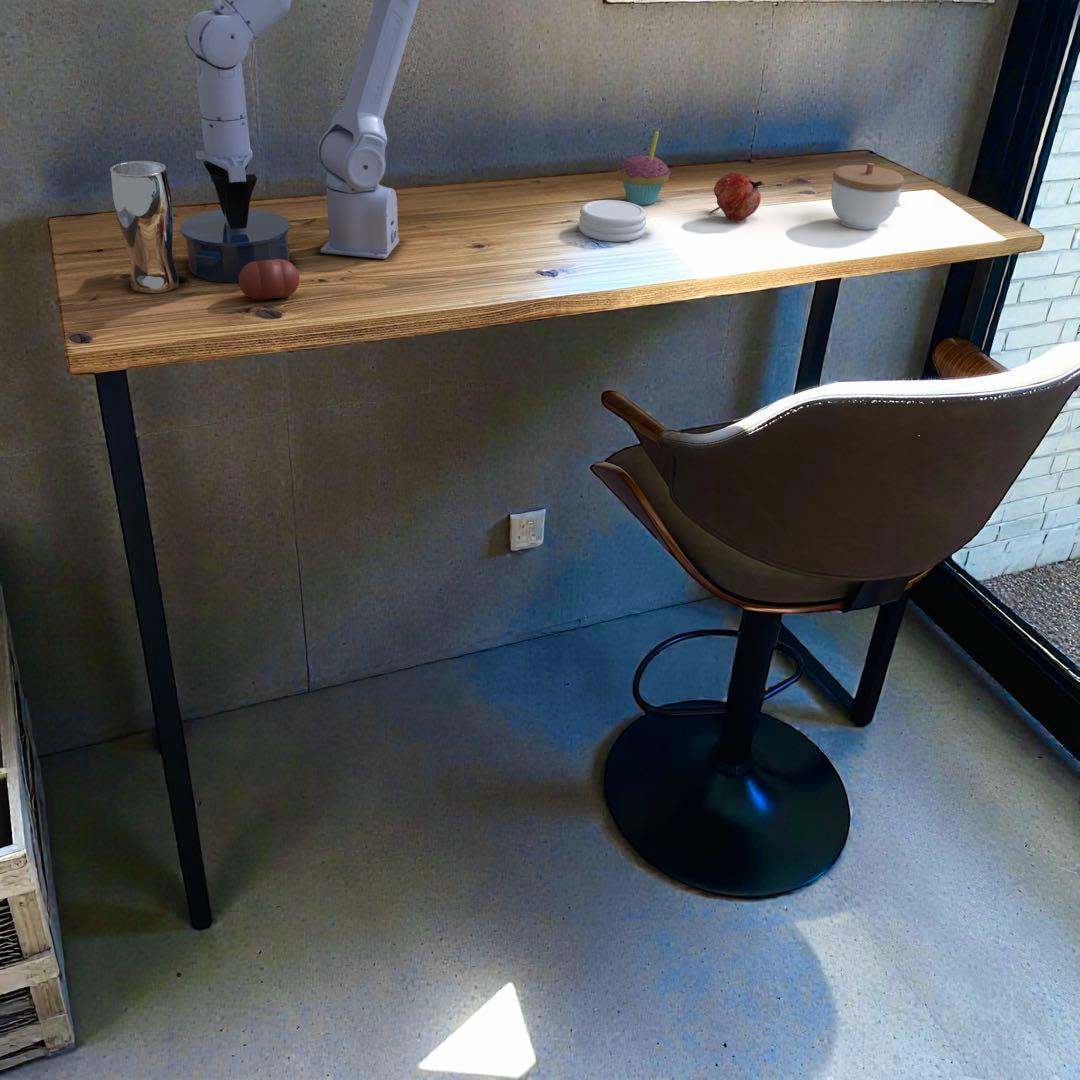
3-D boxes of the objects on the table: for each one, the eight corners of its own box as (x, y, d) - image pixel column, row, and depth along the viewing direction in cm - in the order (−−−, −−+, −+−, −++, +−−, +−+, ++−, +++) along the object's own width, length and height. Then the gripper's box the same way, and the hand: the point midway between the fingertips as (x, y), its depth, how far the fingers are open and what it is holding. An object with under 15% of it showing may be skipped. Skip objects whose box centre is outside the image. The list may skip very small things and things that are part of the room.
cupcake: (675, 199, 191) (683, 124, 185) (651, 212, 185) (659, 134, 179) (630, 189, 195) (636, 115, 189) (604, 201, 189) (610, 125, 182)
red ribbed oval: (296, 288, 152) (293, 252, 150) (304, 301, 148) (301, 265, 146) (237, 293, 150) (233, 257, 147) (243, 307, 146) (239, 270, 143)
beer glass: (133, 275, 154) (115, 159, 145) (187, 275, 154) (172, 160, 146) (122, 294, 148) (102, 175, 140) (178, 295, 148) (162, 176, 140)
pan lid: (307, 223, 160) (305, 192, 158) (262, 257, 149) (259, 223, 146) (212, 211, 163) (208, 181, 161) (161, 243, 151) (156, 211, 149)
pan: (312, 249, 165) (309, 214, 162) (254, 295, 150) (250, 257, 147) (226, 238, 167) (222, 203, 164) (160, 282, 152) (155, 245, 149)
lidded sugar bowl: (842, 235, 179) (853, 174, 174) (814, 213, 188) (824, 154, 183) (905, 233, 181) (919, 173, 176) (875, 212, 190) (887, 153, 185)
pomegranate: (706, 235, 184) (756, 208, 177) (689, 191, 183) (739, 162, 176) (730, 230, 189) (781, 203, 182) (714, 187, 189) (764, 159, 182)
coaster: (565, 230, 176) (566, 207, 174) (607, 217, 182) (609, 194, 180) (616, 247, 171) (617, 224, 169) (657, 233, 177) (660, 210, 175)
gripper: (184, 103, 152) (196, 207, 159) (199, 131, 141) (212, 241, 148) (239, 101, 154) (249, 203, 162) (258, 128, 143) (267, 237, 150)
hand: (235, 221), depth 155 cm, fingers open, 5 cm apart
